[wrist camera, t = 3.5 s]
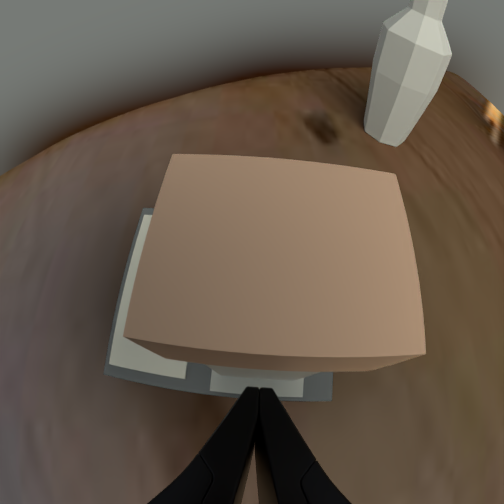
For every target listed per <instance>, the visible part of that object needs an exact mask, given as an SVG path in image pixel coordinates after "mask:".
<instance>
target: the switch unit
mask: <svg viewBox="0 0 504 504" xmlns="http://www.w3.org/2000/svg"><path fill="white" fill-rule="evenodd" d="M153 211H154V208H143V210H142V213H141V216H140V219H139V223H138V226H137V229H136V232H135V236H134V239H133V242H132V246H131V249H130V253H129V256H128V260H127V264H126V268H125V271H124V275H123V279H122V283H121V287H120V292H119V296H118V300H117V305H116V309H115V314H114V318H113V323H112V328H111V333H110V339H109V344H108V350H107V356H106V362H105V368H104V375H108V376H112V377H116V378H120V379H124V380H129V381H133V382H138V383H142V384H147V385H152V386H157V387H162V388H168V389H174V390H180V391H186V392H193V393H200V394H207V395H215V396H224V397H234V398H239V396H240V395H241V394H234V393H224V392H216V391H210V383H211V373H212V369H211V368H210V367H208V366H207V365H205V364H199V363H192V362H185V361H178V360H171V359H165V358H163V357H161V356H159V355H157V354H155V353H153V352H151V351H149V350H147V349H145V348H143V347H142V346H140V345H138V344H136V343H134V342H132V341H130V340H129V339H127V338H125V337H123V334H124V328H125V323H126V318H127V313H128V308H129V304H130V299H131V294H132V290H133V286H134V281H135V277H136V273H137V269H138V265H139V261H140V257H141V253H142V250H143V246H144V242H145V239H146V235H147V232H148V228H149V225H150V221H151V218H152V215H153ZM332 385H333V372H319V373H317V374H314V375H311V376H308V377H305V378H304V384H303V397H278V398H279V400H280V401H332Z"/></svg>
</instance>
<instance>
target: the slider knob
mask: <svg viewBox="0 0 504 504" xmlns="http://www.w3.org/2000/svg"><path fill="white" fill-rule="evenodd" d="M123 337H125V338H127V339H129V340H130V341H132V342H134V343H136V344H138V345H140V346H142V347H143V348H145V349H147V350H149V351H151V352H153V353H155V354H157V355H159V356H161V357H163V358H165V359H171V360H178V361H185V362H192V363H199V364H205V365H207V366H208V367H210V368H211V369H212V373H211V383H210V391H216V392H224V393H234V394H242V392H243V391H244V389H245V388H246V387H247V386H252V387H259V389H260V388H261V387H267V388H273V390H274V391H275V393H276V395H277V396H278V397H303V384H304V378H305V377H308V376H311V375H314V374H317V373H319V372H357V371H371V370H375V369H379V368H382V367H386V366H389V365H393V364H396V363H399V362H403V361H406V360H409V359H412V358H415V357H418V356H421V355H424V354H426V345H425V330H424V319H423V309H422V300H421V292H420V285H419V278H418V272H417V265H416V260H415V254H414V249H413V244H412V239H411V234H410V229H409V224H408V220H407V216H406V212H405V208H404V204H403V200H402V196H401V192H400V188H399V185H398V181H397V178H396V174H392V173H387V172H381V171H375V170H369V169H363V168H356V167H349V166H342V165H334V164H327V163H318V162H309V161H300V160H290V159H278V158H266V157H251V156H232V155H204V154H173V155H172V157H171V160H170V163H169V166H168V169H167V171H166V174H165V177H164V180H163V183H162V186H161V189H160V192H159V195H158V198H157V202H156V205H155V208H154V211H153V215H152V218H151V221H150V225H149V228H148V232H147V235H146V239H145V242H144V246H143V250H142V253H141V257H140V261H139V265H138V269H137V273H136V277H135V281H134V286H133V290H132V294H131V299H130V304H129V308H128V313H127V318H126V323H125V328H124V334H123Z"/></svg>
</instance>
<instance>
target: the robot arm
mask: <svg viewBox="0 0 504 504" xmlns="http://www.w3.org/2000/svg"><path fill="white" fill-rule="evenodd" d="M254 444H255V460H256V473H257V486H258V498H259V504H351V503H350V502H349V500H348V499H347V498H346V497H345V496H344V495H343V494H342V493H341V492H340V491H339V490H338V488H337V487H336V486H335V485H334V484H333V483H332V481H331V480H330V479H329V477H328V476H327V475H326V473H325V472H324V470H323V469H322V467H321V466H320V464H319V463H318V461H316V458H315V457H314V455H313V454H312V452H311V450H310V449H309V447H308V446H307V444H306V442H305V441H304V439H303V438H302V436H301V434H300V433H299V431H298V430H297V428H296V426H295V425H294V423H293V421H292V420H291V418H290V417H289V415H288V413H287V412H286V410H285V408H284V407H283V405H282V403H281V401H280V400H279V398H278V396H277V395H276V393H275V391H274V390H273V388H267V387H261V388H260V389H259V387H252V386H247V387H246V388H245V389H244V391H243V392H242V394H241V395H240V396H239V398H238V399H237V401H236V402H235V404H234V405H233V406H232V408H231V409H230V411H229V412H228V414H227V415H226V416H225V418H224V419H223V420H222V422H221V423H220V425H219V426H218V427H217V429H216V430H215V431H214V433H213V434H212V435H211V437H210V438H209V439H208V441H207V442H206V443H205V445H204V446H203V447H202V449H201V450H200V451H199V453H198V454H197V455H196V456H195V458H194V459H193V460H192V461H191V463H190V464H189V465H188V466H187V467H186V469H185V470H184V471H183V472H182V473H181V474H180V475H179V476H178V477H177V478H176V479H175V480H174V481H173V482H172V483H171V484H170V485H168V486H167V487H166V488H165V489H164V490H163V491H162V492H160V493H159V494H158V495H157V496H156V497H155V498H153V499H152V500H151V501H150V502H149V503H147V504H241V502H242V498H243V494H244V489H245V485H246V481H247V477H248V473H249V468H250V464H251V460H252V455H253V451H254Z"/></svg>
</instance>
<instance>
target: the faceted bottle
mask: <svg viewBox="0 0 504 504" xmlns="http://www.w3.org/2000/svg"><path fill="white" fill-rule="evenodd" d="M447 2H448V0H410V3H409V6H408V7H407V8H405V9H403V10H402V11H400V12H398V13H397V14H395V15H394V16H392V17H390V18H389V19H387V20H386V21H384V22H383V24H382V28H381V32H380V36H379V40H378V44H377V48H376V51H375V55H374V59H373V65H372V72H371V79H370V86H369V92H368V99H367V105H366V111H365V116H364V129H365V132H366V133H368V134H369V135H371V136H372V137H373V138H375V139H376V140H377V141H379V142H381V143H385V144H388V145H391V146H395V147H397V146H398V145H400V144H401V143H402V142H404V141H405V139H406V138H407V136H408V135H409V133H410V132H411V130H412V129H413V127H414V126H415V124H416V123H417V121H418V120H419V118H420V117H421V115H422V114H423V112H424V111H425V109H426V107H427V106H428V104H429V103H430V101H431V100H432V98H433V96H434V95H435V93H436V92H437V90H438V88H439V85H440V83H441V81H442V78H443V76H444V73H445V71H446V68H447V66H448V64H449V61H450V58H451V56H452V52H451V49H450V45H449V42H448V39H447V36H446V33H445V30H444V27H443V24H442V18H443V15H444V12H445V9H446V5H447Z"/></svg>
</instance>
